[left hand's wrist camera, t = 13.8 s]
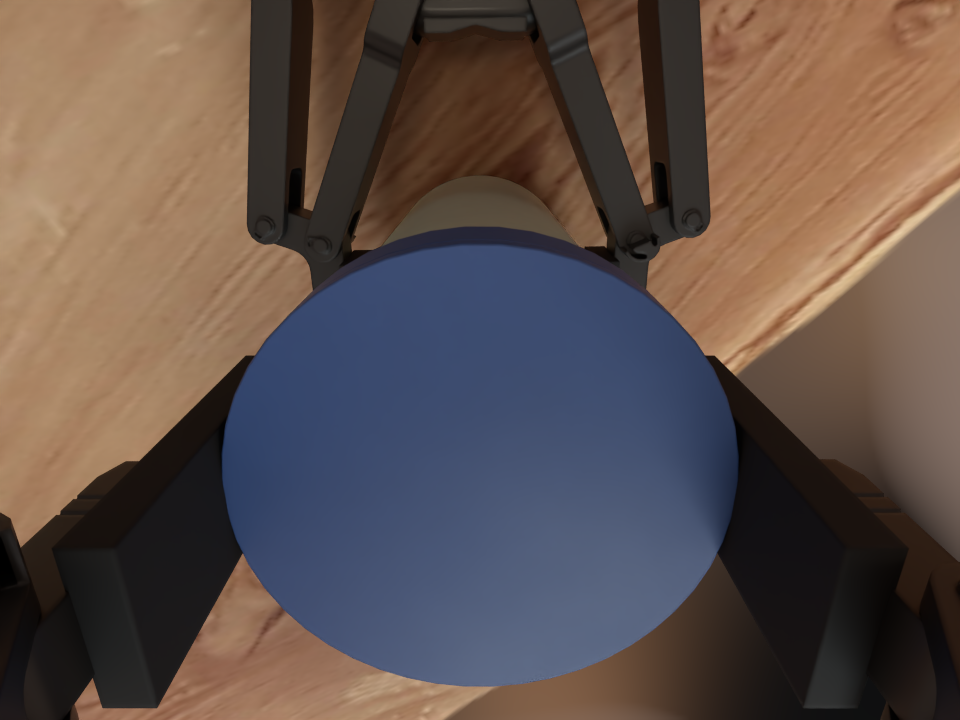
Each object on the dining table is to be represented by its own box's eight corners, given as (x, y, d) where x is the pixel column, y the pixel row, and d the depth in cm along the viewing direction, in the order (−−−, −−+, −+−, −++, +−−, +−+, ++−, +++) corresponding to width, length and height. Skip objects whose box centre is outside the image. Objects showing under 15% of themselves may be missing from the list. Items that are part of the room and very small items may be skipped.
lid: (167, 468, 12) (122, 518, 11) (457, 110, 10) (452, 106, 8) (495, 683, 14) (497, 750, 13) (799, 435, 12) (847, 481, 10)
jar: (359, 271, 28) (172, 501, 11) (471, 135, 26) (456, 157, 9) (486, 376, 30) (495, 709, 13) (601, 257, 28) (794, 469, 11)
